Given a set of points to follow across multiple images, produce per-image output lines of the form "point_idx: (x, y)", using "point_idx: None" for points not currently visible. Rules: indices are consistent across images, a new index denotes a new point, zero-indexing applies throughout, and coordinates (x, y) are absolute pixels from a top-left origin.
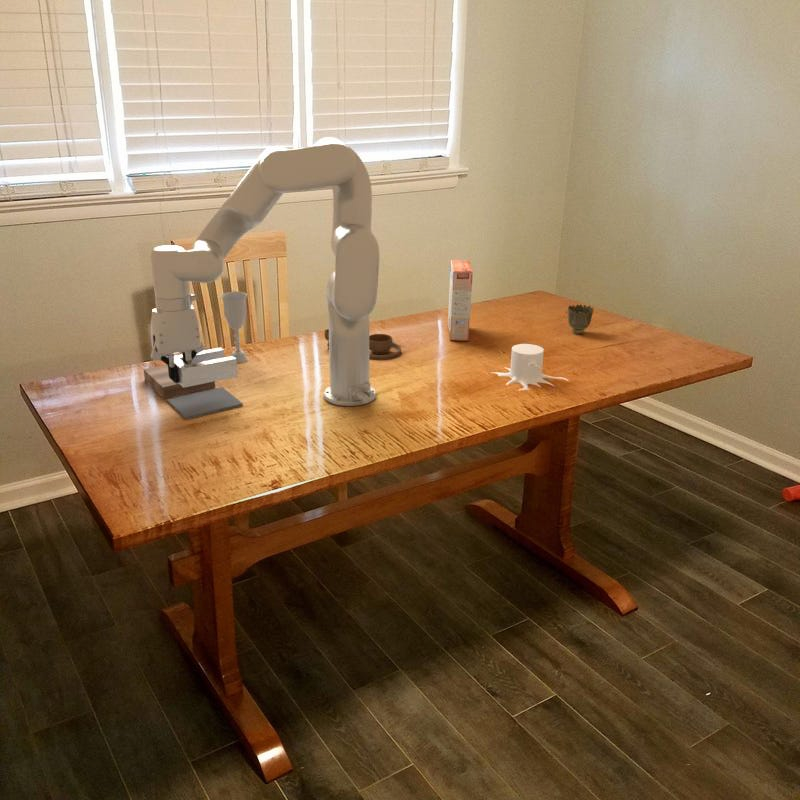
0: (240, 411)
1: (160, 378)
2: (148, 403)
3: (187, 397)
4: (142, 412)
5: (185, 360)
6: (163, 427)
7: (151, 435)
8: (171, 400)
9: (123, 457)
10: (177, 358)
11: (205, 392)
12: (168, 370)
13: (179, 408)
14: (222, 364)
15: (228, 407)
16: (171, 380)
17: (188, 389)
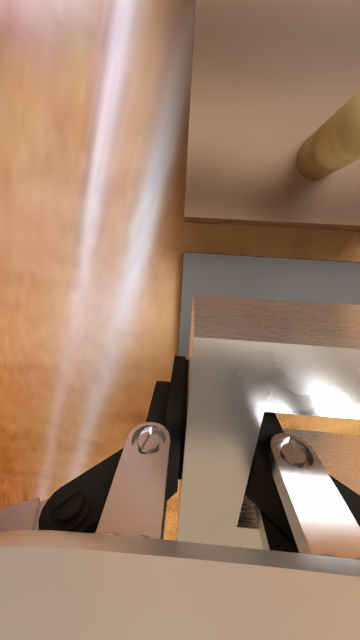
0: (305, 425)
1: (221, 83)
2: (128, 228)
3: (245, 279)
4: (94, 285)
5: (259, 504)
6: (116, 396)
7: (82, 414)
8: (191, 272)
9: (16, 457)
10: (246, 413)
11: (315, 276)
12: (150, 406)
13: (186, 341)
14: None
15: None
16: (250, 154)
17: (282, 225)
